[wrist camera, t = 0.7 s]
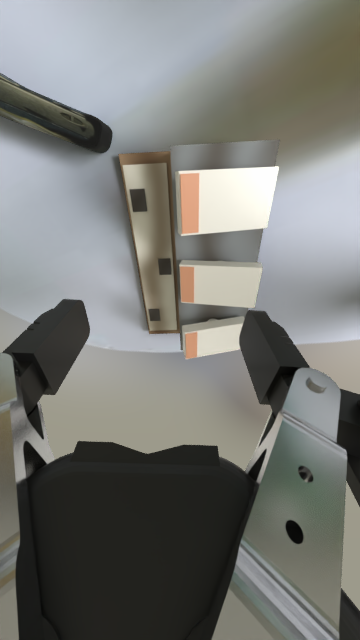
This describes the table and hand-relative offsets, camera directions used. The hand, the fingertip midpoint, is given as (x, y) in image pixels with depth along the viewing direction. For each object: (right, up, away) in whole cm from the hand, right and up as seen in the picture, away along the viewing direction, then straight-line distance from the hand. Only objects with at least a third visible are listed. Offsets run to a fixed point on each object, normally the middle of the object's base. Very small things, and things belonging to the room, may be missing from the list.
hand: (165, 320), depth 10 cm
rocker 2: (+6, +5, +15) cm, 17 cm away
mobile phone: (-14, +22, +11) cm, 29 cm away
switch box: (+2, +9, +20) cm, 22 cm away
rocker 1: (+5, +12, +10) cm, 17 cm away
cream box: (+5, -2, +20) cm, 21 cm away
